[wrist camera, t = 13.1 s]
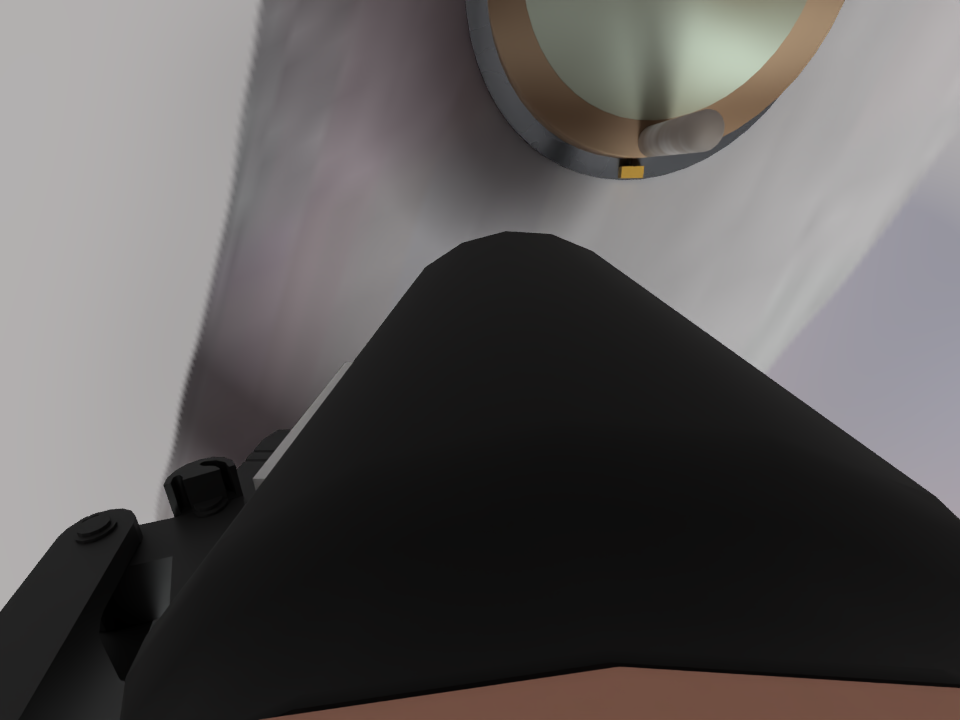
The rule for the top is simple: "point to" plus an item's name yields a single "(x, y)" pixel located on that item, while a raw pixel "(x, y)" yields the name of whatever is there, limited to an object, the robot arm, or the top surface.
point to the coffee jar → (563, 531)
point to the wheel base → (551, 143)
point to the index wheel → (653, 66)
